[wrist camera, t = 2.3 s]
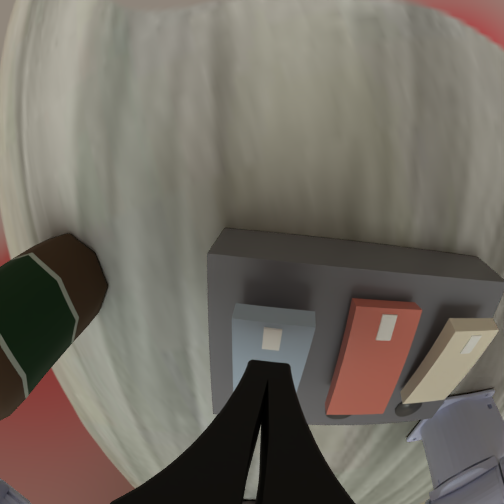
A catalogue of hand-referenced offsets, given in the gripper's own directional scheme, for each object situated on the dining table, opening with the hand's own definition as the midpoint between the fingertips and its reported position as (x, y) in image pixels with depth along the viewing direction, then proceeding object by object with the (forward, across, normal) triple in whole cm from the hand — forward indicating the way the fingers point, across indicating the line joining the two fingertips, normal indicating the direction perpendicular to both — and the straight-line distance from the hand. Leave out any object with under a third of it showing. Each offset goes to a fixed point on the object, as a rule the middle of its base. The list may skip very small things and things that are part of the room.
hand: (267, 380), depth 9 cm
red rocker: (+5, -6, +3) cm, 8 cm away
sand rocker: (+5, -11, +3) cm, 12 cm away
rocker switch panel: (+9, -6, +4) cm, 12 cm away
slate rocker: (+5, 0, +3) cm, 6 cm away
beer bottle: (+10, +16, +3) cm, 19 cm away
